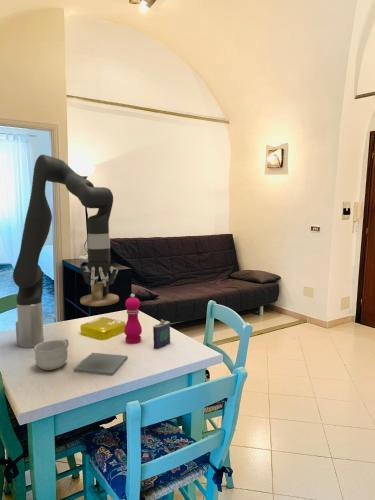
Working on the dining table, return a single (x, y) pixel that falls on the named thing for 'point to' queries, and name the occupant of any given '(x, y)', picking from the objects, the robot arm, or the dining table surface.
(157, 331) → the flask
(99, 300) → the lid
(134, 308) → the pepper mill
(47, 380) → the dining table surface
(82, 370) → the mat
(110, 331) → the element tile
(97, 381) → the dining table surface
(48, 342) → the teacup
